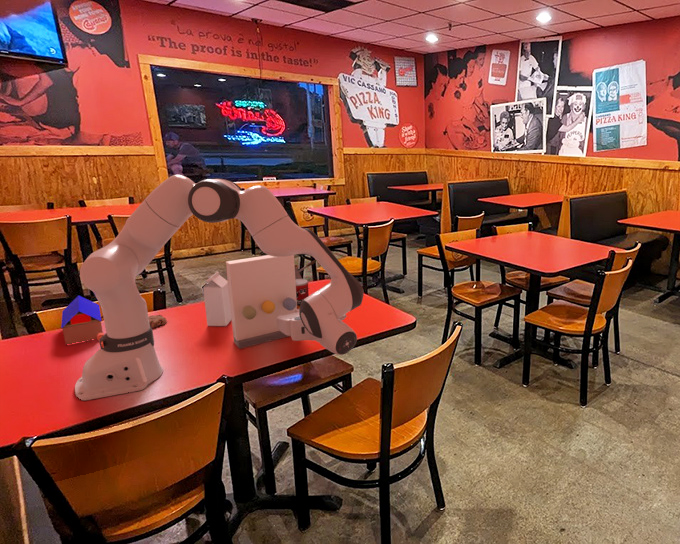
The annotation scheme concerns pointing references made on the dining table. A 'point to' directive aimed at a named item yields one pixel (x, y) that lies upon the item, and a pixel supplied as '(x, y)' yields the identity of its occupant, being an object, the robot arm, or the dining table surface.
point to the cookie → (156, 320)
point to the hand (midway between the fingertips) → (299, 310)
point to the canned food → (301, 291)
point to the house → (81, 321)
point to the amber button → (268, 307)
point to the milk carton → (217, 301)
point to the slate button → (289, 303)
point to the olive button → (249, 312)
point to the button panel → (259, 296)
